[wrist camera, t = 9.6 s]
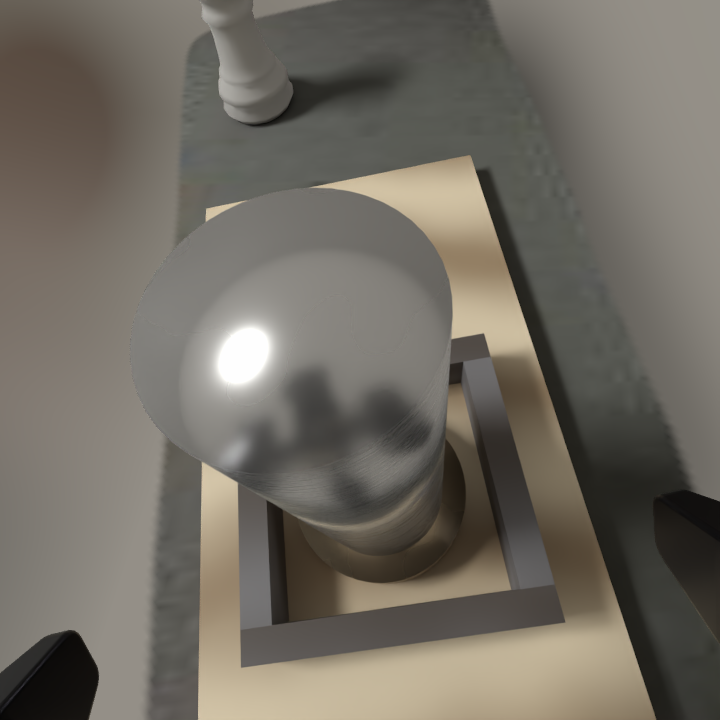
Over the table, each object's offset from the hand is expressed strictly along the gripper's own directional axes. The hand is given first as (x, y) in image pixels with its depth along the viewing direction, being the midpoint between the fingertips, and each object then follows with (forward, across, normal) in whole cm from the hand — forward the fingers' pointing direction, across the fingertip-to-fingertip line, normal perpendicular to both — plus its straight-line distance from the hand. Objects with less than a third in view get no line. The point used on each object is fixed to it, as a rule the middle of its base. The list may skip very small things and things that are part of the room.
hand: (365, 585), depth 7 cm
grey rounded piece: (+10, 0, +5) cm, 11 cm away
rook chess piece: (+28, +2, -12) cm, 31 cm away
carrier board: (+13, 0, +3) cm, 13 cm away
